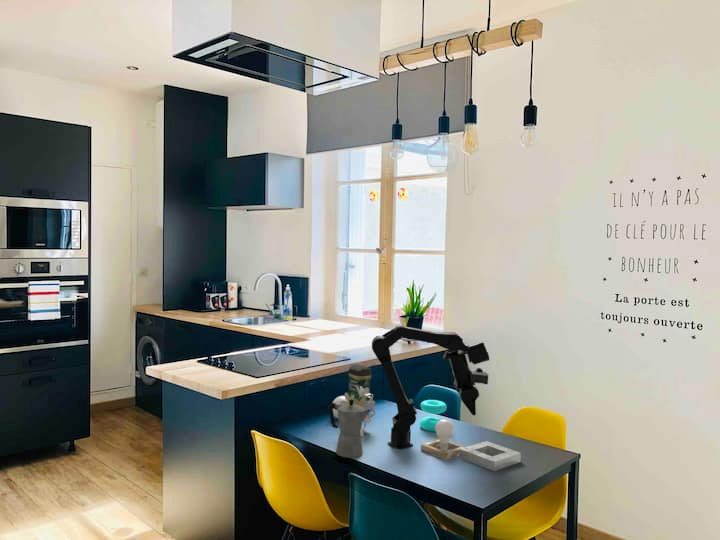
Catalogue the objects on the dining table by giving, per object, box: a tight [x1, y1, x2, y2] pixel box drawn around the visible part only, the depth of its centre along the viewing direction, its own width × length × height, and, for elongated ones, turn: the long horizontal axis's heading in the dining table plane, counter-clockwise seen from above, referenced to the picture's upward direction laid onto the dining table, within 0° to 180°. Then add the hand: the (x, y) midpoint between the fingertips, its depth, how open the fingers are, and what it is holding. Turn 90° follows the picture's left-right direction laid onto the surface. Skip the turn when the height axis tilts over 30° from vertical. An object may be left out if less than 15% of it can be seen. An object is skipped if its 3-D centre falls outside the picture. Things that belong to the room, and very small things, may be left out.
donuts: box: [419, 399, 447, 432], centre depth 226 cm, size 10×10×10 cm
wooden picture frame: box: [420, 439, 466, 461], centre depth 201 cm, size 11×11×2 cm
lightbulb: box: [434, 418, 455, 451], centre depth 200 cm, size 6×6×11 cm
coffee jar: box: [347, 364, 372, 405], centre depth 248 cm, size 10×8×19 cm
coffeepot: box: [327, 399, 370, 459], centre depth 196 cm, size 15×9×18 cm, turn 62°
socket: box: [459, 440, 522, 472], centre depth 194 cm, size 14×14×3 cm
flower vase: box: [332, 385, 376, 437], centre depth 225 cm, size 13×18×25 cm
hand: (472, 411), depth 205 cm, fingers open, 9 cm apart
